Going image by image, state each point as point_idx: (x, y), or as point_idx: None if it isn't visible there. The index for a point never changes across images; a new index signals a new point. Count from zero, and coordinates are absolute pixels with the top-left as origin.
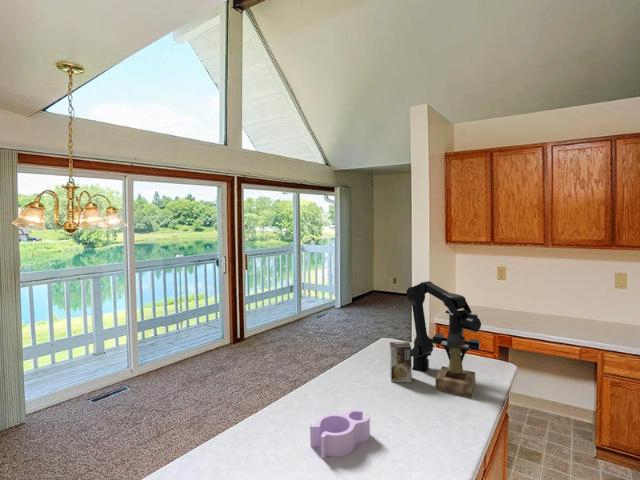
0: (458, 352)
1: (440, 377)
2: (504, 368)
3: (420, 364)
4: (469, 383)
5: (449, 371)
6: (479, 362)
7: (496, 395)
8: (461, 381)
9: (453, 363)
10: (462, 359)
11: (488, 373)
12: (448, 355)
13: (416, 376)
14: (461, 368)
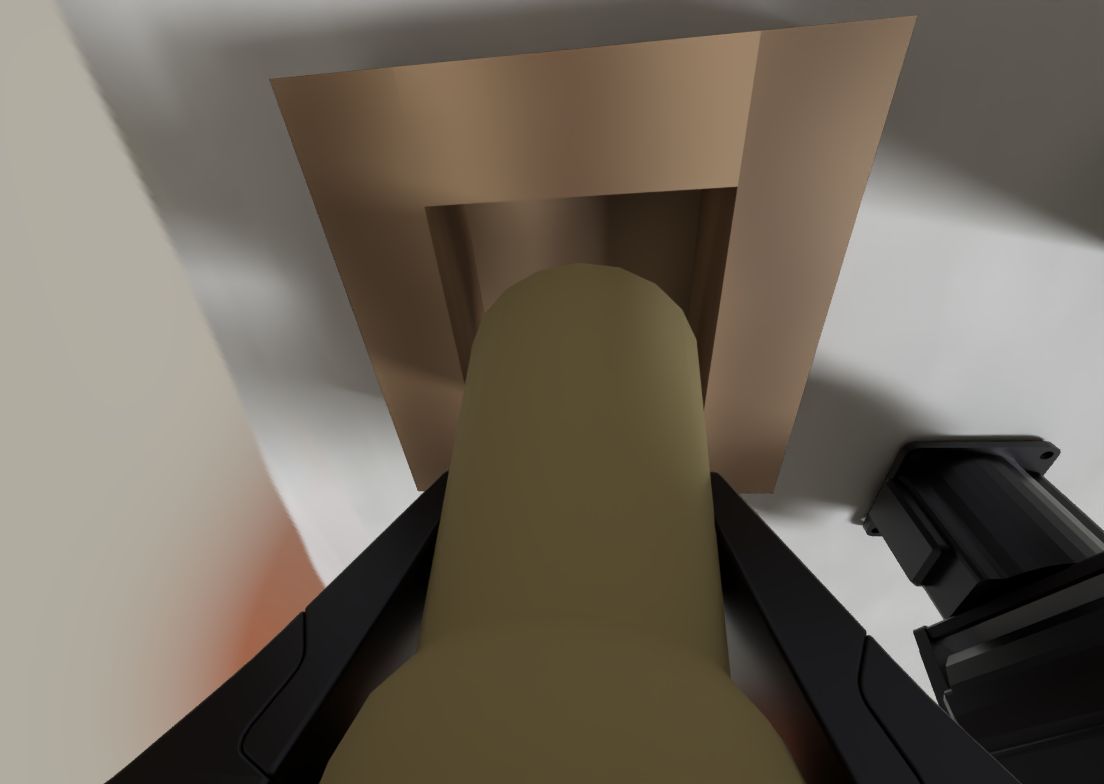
0: (387, 728)
1: (807, 121)
2: None
3: (1004, 495)
4: (323, 142)
5: None
6: None
7: (211, 278)
8: (449, 152)
9: (602, 374)
10: (401, 520)
11: None
12: (778, 567)
13: (1038, 311)
14: (468, 375)
